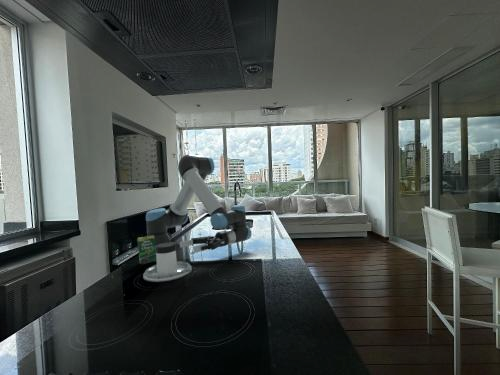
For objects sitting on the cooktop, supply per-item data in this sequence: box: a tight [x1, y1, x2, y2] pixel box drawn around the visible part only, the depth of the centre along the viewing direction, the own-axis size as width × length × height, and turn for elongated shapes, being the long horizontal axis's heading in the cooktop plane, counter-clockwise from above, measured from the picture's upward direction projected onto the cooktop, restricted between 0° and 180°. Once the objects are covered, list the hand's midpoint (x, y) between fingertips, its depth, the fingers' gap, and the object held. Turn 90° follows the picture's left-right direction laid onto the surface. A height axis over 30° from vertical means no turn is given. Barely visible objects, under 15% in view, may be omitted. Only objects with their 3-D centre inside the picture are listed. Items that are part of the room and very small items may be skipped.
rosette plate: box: [142, 260, 192, 283], centre depth 111 cm, size 20×20×2 cm
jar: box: [155, 242, 178, 276], centre depth 108 cm, size 9×8×12 cm
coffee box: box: [136, 235, 157, 265], centre depth 128 cm, size 8×3×13 cm, turn 117°
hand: (186, 247), depth 117 cm, fingers open, 13 cm apart
